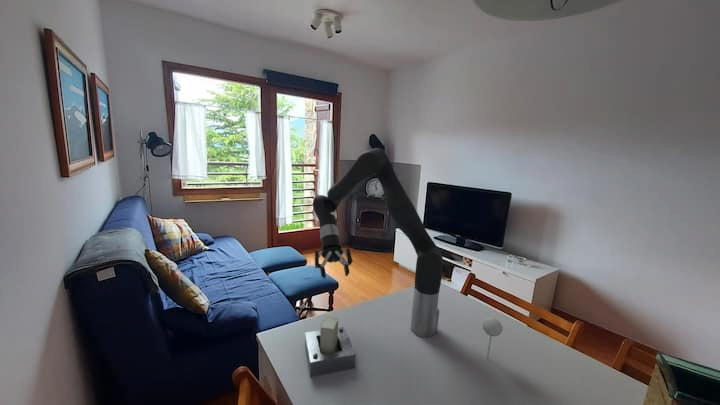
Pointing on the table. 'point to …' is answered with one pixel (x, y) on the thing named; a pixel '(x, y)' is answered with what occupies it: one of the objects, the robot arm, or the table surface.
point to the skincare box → (329, 335)
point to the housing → (329, 354)
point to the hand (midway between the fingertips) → (335, 276)
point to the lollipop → (492, 328)
